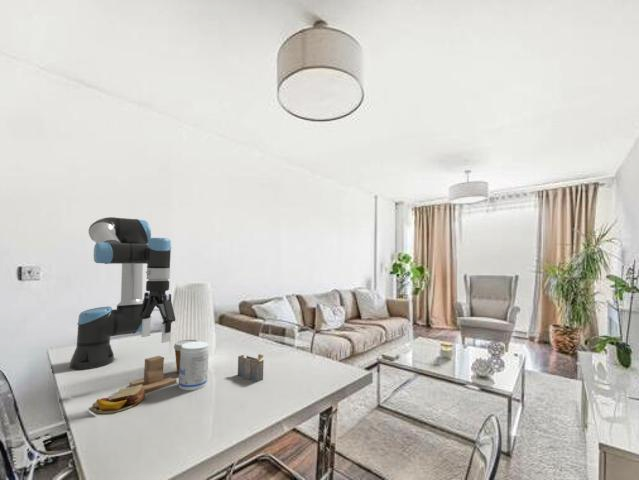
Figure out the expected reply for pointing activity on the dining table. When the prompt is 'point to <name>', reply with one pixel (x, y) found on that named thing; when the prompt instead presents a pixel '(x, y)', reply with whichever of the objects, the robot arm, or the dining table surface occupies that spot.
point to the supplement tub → (193, 365)
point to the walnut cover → (154, 375)
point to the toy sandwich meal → (120, 400)
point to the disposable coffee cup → (177, 351)
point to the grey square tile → (159, 389)
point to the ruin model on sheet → (251, 367)
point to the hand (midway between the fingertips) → (155, 339)
